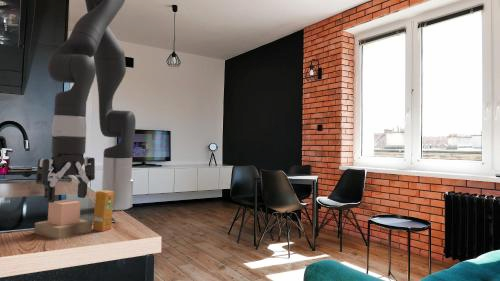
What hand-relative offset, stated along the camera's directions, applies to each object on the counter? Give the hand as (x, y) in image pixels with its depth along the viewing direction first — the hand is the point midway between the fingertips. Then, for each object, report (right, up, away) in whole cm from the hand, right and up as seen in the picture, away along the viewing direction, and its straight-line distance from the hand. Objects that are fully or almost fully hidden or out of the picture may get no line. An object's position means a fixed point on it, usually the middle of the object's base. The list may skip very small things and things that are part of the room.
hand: (66, 199), depth 87 cm
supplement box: (+7, -9, +4) cm, 12 cm away
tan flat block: (-1, -9, 0) cm, 9 cm away
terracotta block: (0, -6, 0) cm, 6 cm away
